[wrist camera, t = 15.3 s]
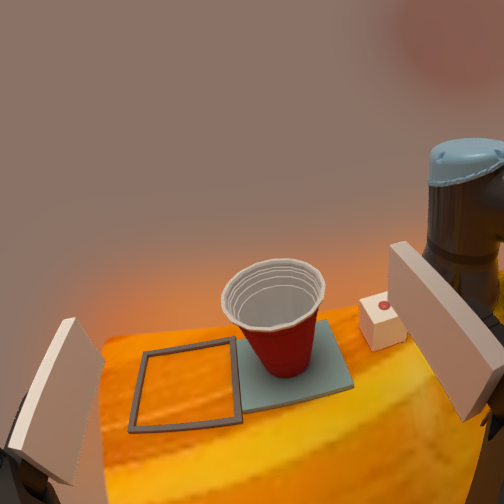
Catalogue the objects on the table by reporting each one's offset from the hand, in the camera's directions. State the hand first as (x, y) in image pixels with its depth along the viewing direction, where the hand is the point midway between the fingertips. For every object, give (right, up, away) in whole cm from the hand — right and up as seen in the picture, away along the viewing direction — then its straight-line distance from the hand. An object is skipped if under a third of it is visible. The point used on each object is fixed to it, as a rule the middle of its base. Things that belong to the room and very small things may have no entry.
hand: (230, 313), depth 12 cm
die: (+18, -9, +26) cm, 33 cm away
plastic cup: (+5, -12, +25) cm, 28 cm away
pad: (+6, -12, +26) cm, 29 cm away
